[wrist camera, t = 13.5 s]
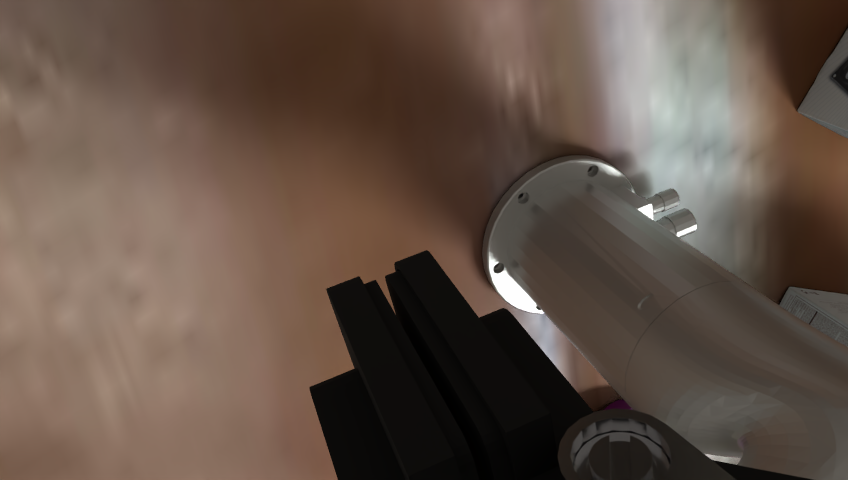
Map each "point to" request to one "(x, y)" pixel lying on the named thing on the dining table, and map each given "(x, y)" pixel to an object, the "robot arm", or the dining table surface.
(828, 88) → the hard drive box
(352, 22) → the dining table surface
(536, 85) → the dining table surface
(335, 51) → the dining table surface
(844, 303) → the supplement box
